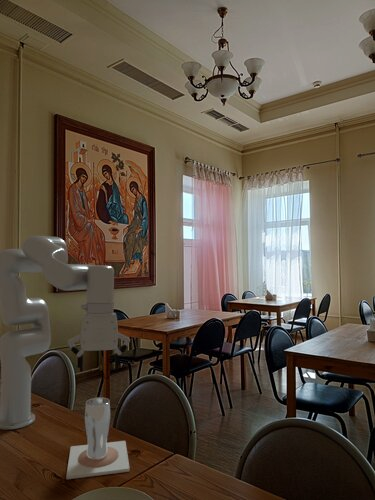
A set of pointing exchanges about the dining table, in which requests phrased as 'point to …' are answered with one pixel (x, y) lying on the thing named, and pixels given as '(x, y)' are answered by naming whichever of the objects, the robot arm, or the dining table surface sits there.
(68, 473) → the card
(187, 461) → the dining table surface
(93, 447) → the beer glass
